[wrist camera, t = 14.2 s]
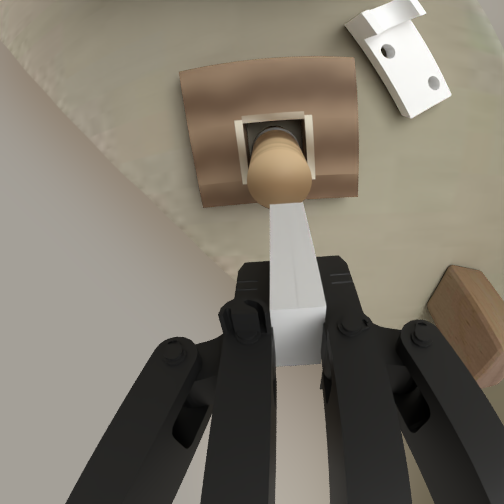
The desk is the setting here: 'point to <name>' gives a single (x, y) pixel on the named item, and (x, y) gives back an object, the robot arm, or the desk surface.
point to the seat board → (270, 109)
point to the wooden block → (471, 322)
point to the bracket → (400, 55)
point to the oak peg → (278, 168)
